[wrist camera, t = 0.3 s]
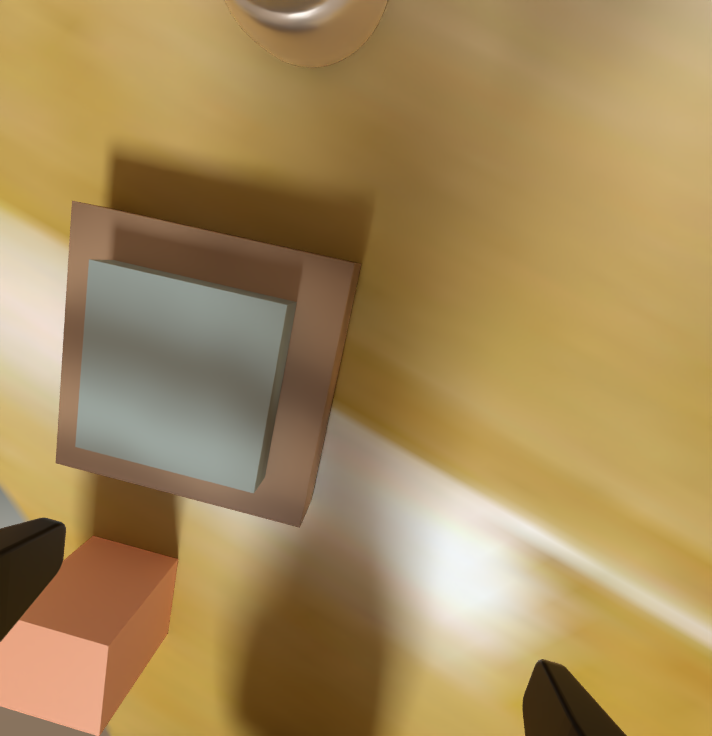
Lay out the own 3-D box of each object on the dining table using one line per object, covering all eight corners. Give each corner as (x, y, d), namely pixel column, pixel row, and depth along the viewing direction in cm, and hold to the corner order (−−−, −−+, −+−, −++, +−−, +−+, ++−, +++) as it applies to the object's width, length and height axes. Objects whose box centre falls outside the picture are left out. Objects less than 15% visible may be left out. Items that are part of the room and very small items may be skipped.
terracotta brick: (168, 632, 26) (99, 736, 21) (87, 609, 27) (-4, 704, 21) (178, 558, 25) (108, 646, 19) (93, 535, 26) (-1, 614, 20)
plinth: (311, 500, 23) (291, 546, 20) (91, 443, 24) (30, 477, 20) (361, 263, 21) (349, 263, 17) (110, 208, 21) (43, 195, 18)
